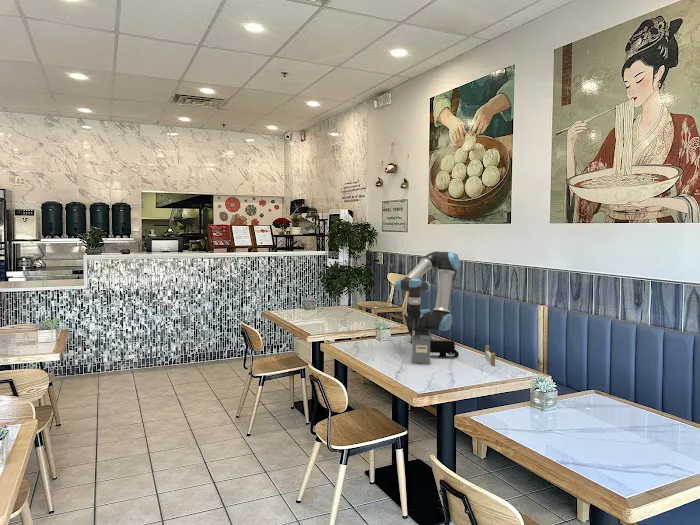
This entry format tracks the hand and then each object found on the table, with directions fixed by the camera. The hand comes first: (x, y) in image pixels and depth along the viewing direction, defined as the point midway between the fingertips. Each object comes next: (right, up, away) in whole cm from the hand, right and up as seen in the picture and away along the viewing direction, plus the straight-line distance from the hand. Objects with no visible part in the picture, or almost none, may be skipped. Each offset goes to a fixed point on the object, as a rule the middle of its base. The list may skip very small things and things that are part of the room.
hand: (413, 341), depth 326 cm
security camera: (+19, -10, 0) cm, 21 cm away
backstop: (+45, -11, -9) cm, 47 cm away
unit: (+3, -10, -12) cm, 16 cm away
